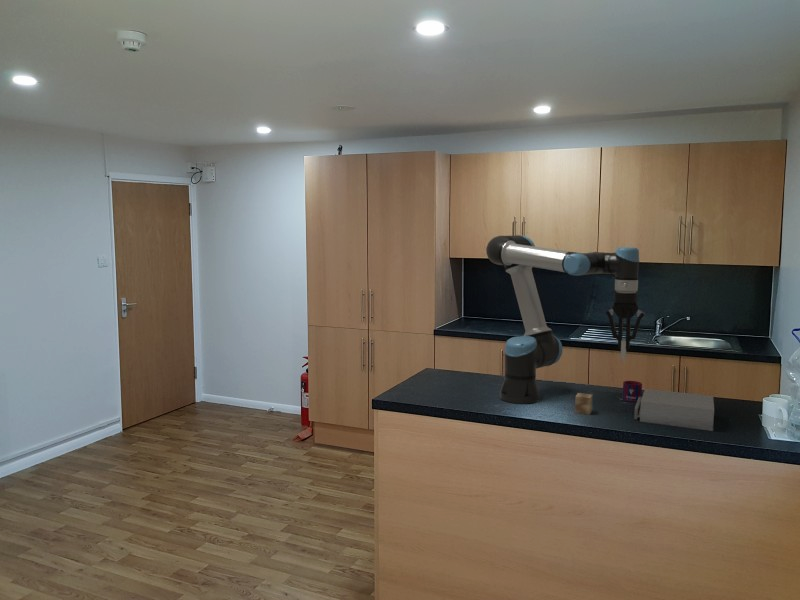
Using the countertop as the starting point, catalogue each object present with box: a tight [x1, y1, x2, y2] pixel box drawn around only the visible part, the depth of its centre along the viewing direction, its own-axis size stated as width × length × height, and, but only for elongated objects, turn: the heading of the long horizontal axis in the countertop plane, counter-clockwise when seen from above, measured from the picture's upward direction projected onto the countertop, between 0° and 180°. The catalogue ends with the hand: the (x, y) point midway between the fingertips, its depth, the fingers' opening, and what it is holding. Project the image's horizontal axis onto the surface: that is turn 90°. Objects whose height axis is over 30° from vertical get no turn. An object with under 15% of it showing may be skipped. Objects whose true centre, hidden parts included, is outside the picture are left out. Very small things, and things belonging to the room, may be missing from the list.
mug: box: [622, 380, 643, 403], centre depth 231 cm, size 7×10×7 cm
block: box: [574, 392, 593, 416], centre depth 215 cm, size 5×5×6 cm
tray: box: [633, 397, 642, 420], centre depth 209 cm, size 18×16×4 cm
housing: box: [639, 388, 715, 432], centre depth 207 cm, size 22×18×7 cm
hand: (623, 358), depth 213 cm, fingers closed
